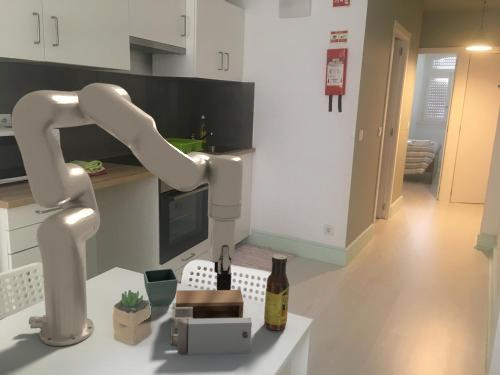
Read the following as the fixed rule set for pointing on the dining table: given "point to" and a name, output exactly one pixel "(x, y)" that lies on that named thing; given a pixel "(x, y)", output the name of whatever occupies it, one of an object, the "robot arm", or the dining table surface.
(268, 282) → the sauce bottle
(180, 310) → the hinge clips
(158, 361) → the dining table surface
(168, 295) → the flower pot
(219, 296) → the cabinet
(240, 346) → the door
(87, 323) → the robot arm
